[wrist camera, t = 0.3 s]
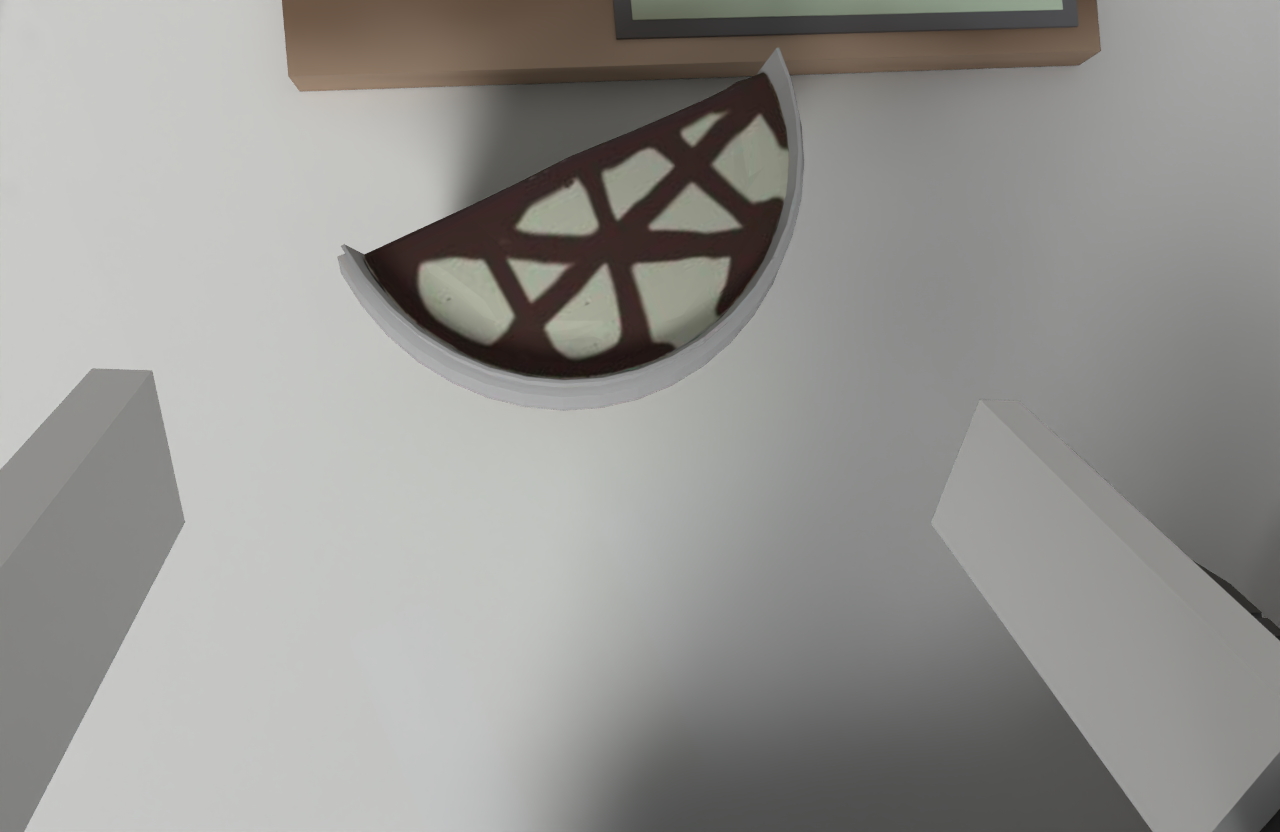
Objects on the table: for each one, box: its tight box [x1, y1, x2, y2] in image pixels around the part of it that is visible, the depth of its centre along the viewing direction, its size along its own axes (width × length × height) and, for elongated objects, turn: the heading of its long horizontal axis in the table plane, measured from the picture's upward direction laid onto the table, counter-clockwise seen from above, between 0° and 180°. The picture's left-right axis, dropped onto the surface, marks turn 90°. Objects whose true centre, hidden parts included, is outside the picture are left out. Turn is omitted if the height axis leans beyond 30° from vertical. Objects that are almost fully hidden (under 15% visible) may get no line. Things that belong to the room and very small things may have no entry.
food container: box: [338, 48, 804, 410], centre depth 23 cm, size 12×6×10 cm, turn 117°
